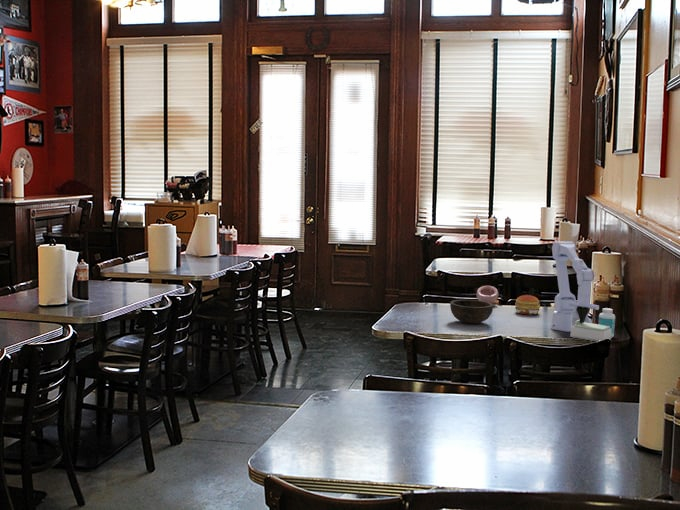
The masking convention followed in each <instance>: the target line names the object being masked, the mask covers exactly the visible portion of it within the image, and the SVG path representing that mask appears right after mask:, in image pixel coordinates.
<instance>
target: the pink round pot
mask: <svg viewBox="0 0 680 510" xmlns="http://www.w3.org/2000/svg"><path fill="white" fill-rule="evenodd" d="M498 297H499V291H498V289H497V288H496V287H495V286H491V285H488V284H487V285H482V286H480V287H479V288H478V289H477V290H476V298H477V300H478V301H485V302H489V303H492V304H493V305H494V303H496V301H497V300H498Z"/></svg>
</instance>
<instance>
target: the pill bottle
mask: <svg viewBox="0 0 680 510" xmlns="http://www.w3.org/2000/svg"><path fill="white" fill-rule="evenodd" d="M613 310H614V309H612V308H610V307H609V308H608V307H605V308H602V310H601V311H602V312H600V313H599V315H598V324H599V325H606V326H610V328H612V330H611V339H612V338H613V337H615V336H614V335H615V323H616V315H615V314H614V313H613Z"/></svg>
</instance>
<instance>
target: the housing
mask: <svg viewBox="0 0 680 510" xmlns="http://www.w3.org/2000/svg"><path fill="white" fill-rule="evenodd" d="M611 330H612V328H608V329H606V330H604V331H600V330H595V329H588V328H581V327H575V326H574V325H573V324H572V326H571V331H570V335H569V338H570V337H573V338H581V339H586V340H590V341H589V342H592V341H599V340H604V339H609V340H610V341H611V340H612V338H611ZM573 338H572V339H573ZM586 340H585V341H586Z"/></svg>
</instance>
